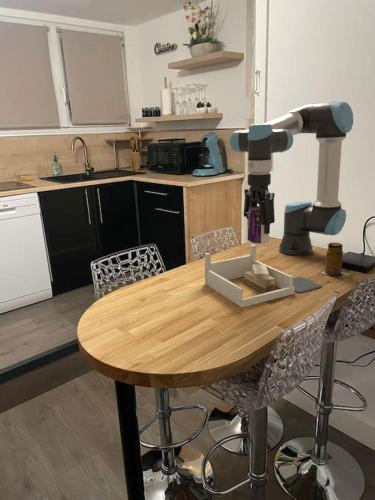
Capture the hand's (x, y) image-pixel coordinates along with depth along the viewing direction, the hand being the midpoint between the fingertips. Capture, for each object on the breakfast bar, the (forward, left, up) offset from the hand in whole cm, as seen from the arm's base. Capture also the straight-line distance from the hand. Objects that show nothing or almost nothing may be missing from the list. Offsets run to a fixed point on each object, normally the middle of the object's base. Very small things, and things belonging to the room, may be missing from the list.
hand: (258, 239), depth 133 cm
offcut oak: (-2, -2, -17) cm, 17 cm away
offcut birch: (-3, -2, -14) cm, 14 cm away
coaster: (-15, +5, -18) cm, 25 cm away
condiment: (-35, +3, -19) cm, 40 cm away
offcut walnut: (-2, -2, -19) cm, 19 cm away
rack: (+3, -2, -18) cm, 19 cm away
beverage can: (0, 0, -1) cm, 1 cm away
